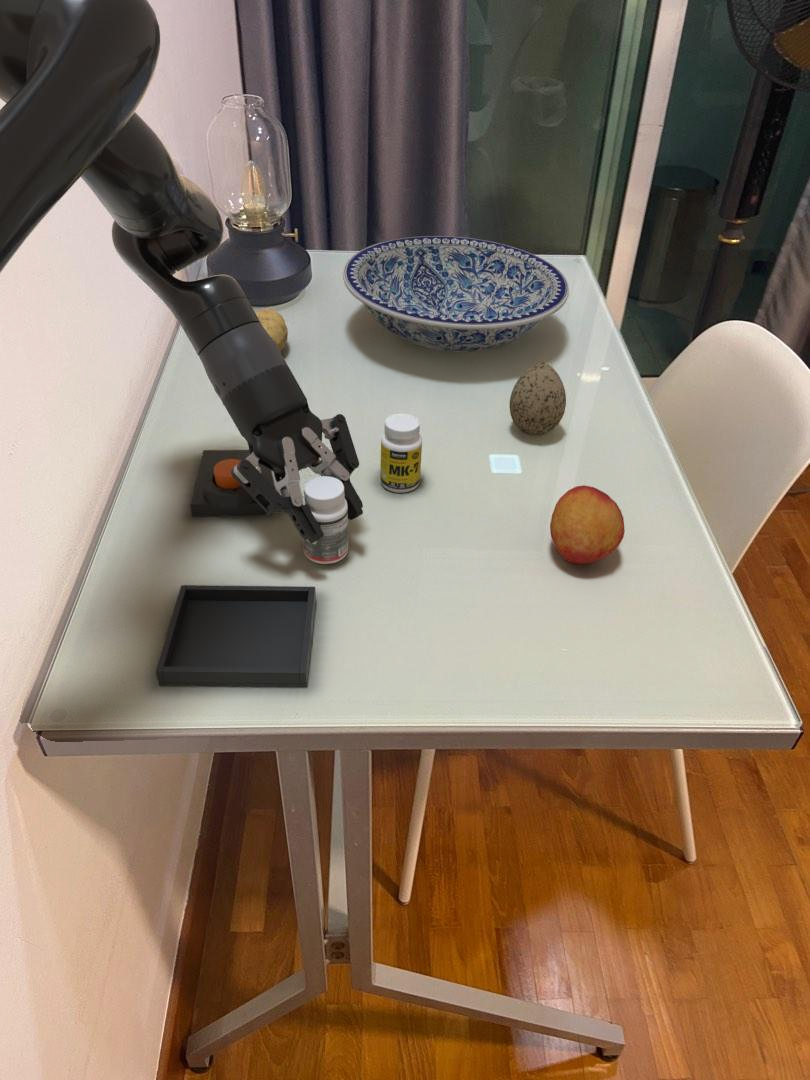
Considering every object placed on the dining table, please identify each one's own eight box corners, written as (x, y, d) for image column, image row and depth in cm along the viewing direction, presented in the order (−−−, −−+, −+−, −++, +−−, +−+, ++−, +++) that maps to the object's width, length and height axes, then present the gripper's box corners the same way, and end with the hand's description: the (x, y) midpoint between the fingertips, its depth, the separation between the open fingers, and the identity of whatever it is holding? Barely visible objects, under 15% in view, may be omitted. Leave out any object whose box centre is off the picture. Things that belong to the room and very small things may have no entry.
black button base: (272, 519, 92) (269, 494, 89) (191, 520, 91) (186, 495, 89) (278, 460, 101) (276, 436, 98) (204, 461, 100) (201, 437, 98)
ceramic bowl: (559, 397, 114) (570, 331, 108) (321, 374, 118) (318, 308, 112) (561, 300, 141) (570, 241, 134) (367, 283, 144) (366, 225, 138)
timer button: (246, 489, 91) (244, 476, 89) (213, 490, 90) (211, 477, 89) (249, 471, 93) (247, 458, 92) (217, 471, 93) (215, 458, 92)
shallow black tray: (158, 685, 73) (155, 671, 71) (183, 598, 81) (180, 584, 80) (306, 686, 73) (305, 672, 72) (316, 600, 82) (315, 586, 80)
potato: (232, 369, 118) (227, 329, 114) (254, 336, 127) (250, 297, 123) (277, 373, 118) (274, 333, 114) (296, 340, 126) (293, 301, 122)
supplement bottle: (385, 496, 95) (386, 435, 90) (376, 473, 99) (376, 413, 94) (424, 490, 96) (428, 430, 91) (414, 468, 100) (416, 408, 95)
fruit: (631, 552, 89) (647, 492, 84) (591, 589, 84) (605, 528, 79) (570, 521, 93) (581, 463, 88) (529, 554, 88) (538, 495, 83)
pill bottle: (297, 543, 87) (293, 479, 82) (338, 532, 89) (336, 469, 84) (312, 570, 84) (309, 505, 79) (355, 558, 86) (354, 494, 80)
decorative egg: (494, 429, 107) (502, 360, 101) (532, 412, 111) (541, 344, 105) (534, 453, 103) (545, 382, 97) (572, 434, 107) (584, 365, 101)
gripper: (206, 391, 74) (299, 552, 76) (323, 342, 82) (406, 489, 84) (181, 419, 80) (268, 568, 82) (292, 371, 89) (369, 508, 90)
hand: (337, 527), depth 83 cm, fingers closed on pill bottle, 4 cm apart
